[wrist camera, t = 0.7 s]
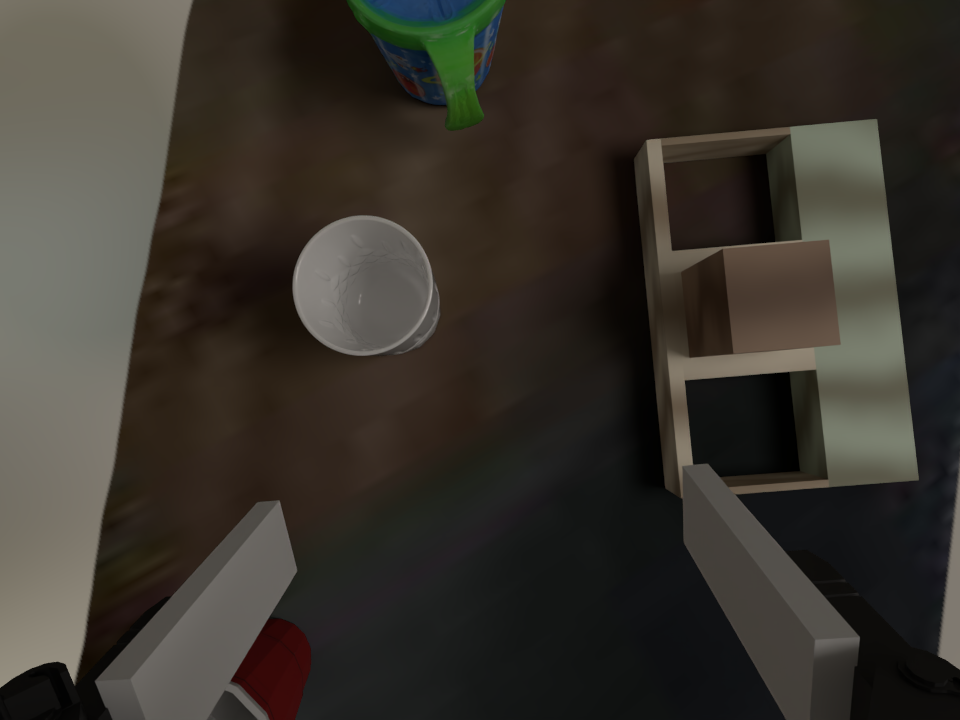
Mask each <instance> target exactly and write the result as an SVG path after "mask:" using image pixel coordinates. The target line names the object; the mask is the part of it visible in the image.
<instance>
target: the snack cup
mask: <svg viewBox="0 0 960 720" xmlns="http://www.w3.org/2000/svg"><path fill="white" fill-rule="evenodd" d="M346 1H347V3H348V5H349V7H350V8H351V10H352V11H353V13H354V16H355V18H356V19H357V21H358V22H359V23H360V24H361V25H362V26H363V27H364V28H365V29H366V30H367V31H368V32H369V33H370V34H371V36H372V38H373V39H374V41H375V43H376V44H377V46H378V48H379V50H380V51H381V53H382V55H383V56H384V58H385V60H386V61H387V63H388V64H389V66H390V68H391V70H392V71H393V73H394V74H395V76H396V78H397V80H398V82H399V83H400V84H401V85H402V87H403V88H404V89H405V91H406V92H408V93H409V94H410V95H411V96H412V97H414V98H417V99H419V100H421V101H423V102H426V103H430V104H434V105H447V110H448V112H447V118H446V121H445V127H446V129H447V130H450V131H453V130H461V129H463V128H467V127H470V126H473V125H476V124H478V123H479V122H481V121H482V120H483V118H484V114H483V112H482V110H481V107H480V105H479V102H478V99H477V95H476V90H477V89H478V88H479V87H480V86H481V84H482V83H483V81H484V79H485V77H486V75H487V74H488V72H489V68H490V65H491V61H492V58H493V52H494V48H495V43H496V37H497V32H498V29H499V24H500V20H501V15H502V11H503V5H504V3H505V1H506V0H346Z"/></svg>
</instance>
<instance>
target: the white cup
mask: <svg viewBox="0 0 960 720" xmlns="http://www.w3.org/2000/svg"><path fill="white" fill-rule="evenodd" d="M292 288H293V298H294V303H295V307H296V310H297V312H298V315H299V317H300V319H301V321H302V322H303V324H304V325H305V327H306V328H307V330H308V331H309V332H310V333H311V334H312V335H313V336H314V337H315V338H316V339H317V340H318V341H320V342H321V343H322V344H324V345H326V346H327V347H329V348H331V349H333V350H335V351H338V352H341V353H345V354H349V355H357V356H387V355H396V354H402V353H405V352H408V351H411V350H414V349H417V348H419V347H421V346H422V345H423V344H424V343H425V342H426V341H427V340H428V339H429V338H430V337H431V336H432V335H433V334H434V331H435V329H436V326H437V323H438V320H439V317H440V305H439V293H438V289H437V285H436V281H435V278H434V275H433V272H432V270H431V267H430V263H429V260H428V258H427V256H426V254H425V252H424V250H423V248H422V247H421V245H420V244H419V242H418V241H417V240H416V239H415V238H414V237H413V236H412V235H411V234H410V233H409V232H408V231H407V230H405V229H404V228H403V227H401V226H399V225H398V224H396V223H394V222H392V221H389V220H387V219H384V218H380V217H375V216H352V217H347V218H343V219H340V220H337V221H335V222H333V223H331V224H329V225H327V226H326V227H324V228H323V229H321V230H320V231H319V232H317V233H316V234H315V235H314V236H313V237H312V238H311V239H310V240H309V242H308V243H307V244H306V246H305V247H304V249H303V250H302V252H301V254H300V256H299V258H298V260H297V263H296V266H295V270H294V274H293V285H292Z"/></svg>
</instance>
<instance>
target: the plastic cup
mask: <svg viewBox="0 0 960 720" xmlns="http://www.w3.org/2000/svg"><path fill="white" fill-rule="evenodd" d="M310 665H311V648H310V646H309V643H308V641H307V638H306V636H305V634H304V633H303V632H302V631H301V630H300V629H299V628H298V627H297V626H296V625H295V624H293V623H290V622H288V621H285V620H283V619H268V620H267V621H266V623H265V625H264V626H263V628H262V630H261V631H260V633H259V635H258V636H257V638H256V640H255V641H254V643H253V644H252V646H251V648H250V649H249V651H248V653H247V654H246V656H245V658H244V659H243V661H242V663H241V664H240V666H239V667H238V669H237V671H236V672H235V674H234V676H233V677H232V679H231V681H230V682H229V684H228V686H227V687H226V689H225V690H224V692H223V694H222V695H221V697H220V699H219V700H218V702H217V704H216V705H215V707H214V709H213V710H212V712H211V713H210V715H209V717H208V718H207V720H295V717H296V714H297V711H298V708H299V705H300V702H301V699H302V696H303V689H304V686H305V683H306V680H307V678H308V675H309V672H310Z"/></svg>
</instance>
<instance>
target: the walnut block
mask: <svg viewBox="0 0 960 720" xmlns="http://www.w3.org/2000/svg"><path fill="white" fill-rule="evenodd" d="M681 276H682V286H683V296H684V306H685V317H686V327H687V337H688V347H689V357H690V358H695V357H707V356H719V355H731V354H744V353H756V352H768V351H780V350H790V349H801V348H811V347H822V346H833V345H841V342H840V333H839V324H838V315H837V306H836V297H835V288H834V279H833V270H832V261H831V252H830V243H829V240H818V241H807V242H795V243H784V244H772V245H760V246H749V247H737V248H726V249H721V250H720V251H718V252H716V253H714V254H712V255H711V256H709V257H707V258H705V259H703V260H702V261H700V262H698V263H696V264H694V265H693V266H691V267H689V268H687V269H685V270H684V271H682V272H681Z"/></svg>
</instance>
